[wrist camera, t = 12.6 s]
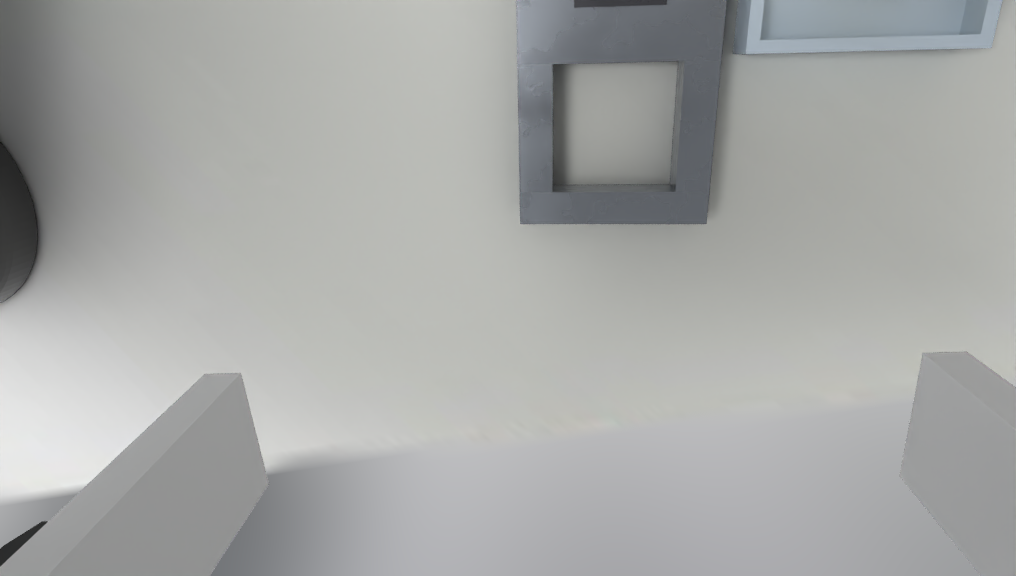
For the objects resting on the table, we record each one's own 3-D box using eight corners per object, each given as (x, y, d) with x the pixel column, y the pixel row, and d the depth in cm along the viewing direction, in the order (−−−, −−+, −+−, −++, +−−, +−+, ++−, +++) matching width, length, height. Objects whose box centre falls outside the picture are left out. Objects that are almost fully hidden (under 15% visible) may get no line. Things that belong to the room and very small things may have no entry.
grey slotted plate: (522, 215, 36) (520, 224, 34) (515, -257, 28) (511, -279, 26) (699, 214, 35) (706, 224, 33) (741, -273, 27) (754, -298, 25)
